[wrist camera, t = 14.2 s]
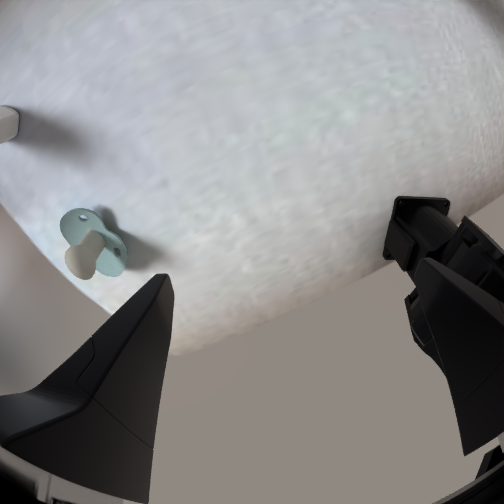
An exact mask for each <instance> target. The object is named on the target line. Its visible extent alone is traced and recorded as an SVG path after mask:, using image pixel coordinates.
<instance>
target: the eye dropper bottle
mask: <svg viewBox="0 0 504 504" xmlns="http://www.w3.org/2000/svg"><path fill="white" fill-rule="evenodd" d="M18 124H19V114H18V113H17V112H16V111H15V110H14V109H12V108H10V107H8V106H0V144H2V143H4V142H6V141H8V140H10V139H12V138H14V137H15V136H16V135H17V133H18Z"/></svg>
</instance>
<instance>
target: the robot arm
mask: <svg viewBox="0 0 504 504" xmlns="http://www.w3.org/2000/svg"><path fill="white" fill-rule="evenodd" d="M400 201H402V202H401V203H400V204H399V202H400ZM445 203H446V204H445ZM449 206H450V201H449V200H448V199H446V198H433V197H411V196H398V197H397V198H396V199H395V201H394V206H393V211H392V216H391V220H390V221H389V226H388V230H387V235H386V239H385V246H384V250H383V257H384V259H385V260H396V261H397V263H398V264H399V266H400V268H401V269H402V270H403V271H406V272H407V273H408V275H409V276H410V278H411V279H412V281H413V282H414V284H415V286H416V288H415V289H414V290H413V291H412V293H411V294H410V295H408V296H407V297H406V298H405V305H406V309H407V313H408V318H409V322H410V327H411V332H412V335H413V338H414V341H415V342H416V343H417V344H418V346H419V347H420V348H421V349H422V350H423V351H424V352H425V353H426V354H427V355H429V356H430V357H431V358H432V359H433V360H434V361H435V362H436V364H437V365H438V366H439V367H440V368H441V370H442V372H443V373H444V375H445V376H446V378H447V381H448V385H449V388H450V392H451V396H452V400H453V404H454V408H455V413H456V417H457V422H458V426H459V431H460V437H461V442H462V448H463V453H464V456H466V455H468V454H470V453H471V452H473V451H475V450H476V449H478V448H480V447H481V446H483V445H485V444H486V443H488V442H489V441H491V440H493V439H494V438H496V437H498V440H499V443H500V444H499V445H498V446H496V447H495V448H494V449H492V450H490V451H489V452H487V453H486V454H485V455H484V458H483V461H482V463H481V466H480V468H479V471H478V473H477V476H476V478H475V480H474V481H473V482H471V483H469V484H468V485H466V486H464V487H463V488H461V489H459V490H458V491H456V492H454V493H452V494H450V495H449V496H446V497H445V498H443V499H441V500H439V501H437V502H435V503H432V504H504V250H503V249H502V248H501V247H500V246H499V245H498V244H497V243H496V242H495V241H494V240H493V239H492V238H491V237H490V236H489V235H488V234H486V233H485V232H484V231H483V230H482V229H481V228H479V227H478V226H477V225H476V224H475V223H473V222H472V221H471V220H470V219H468V218H467V217H466V216H465V215H464V217H463V219H462V220H461V221H462V223H461V224H460V226H459V227H457V226H456V225H455V224H454V223H453V222H452V221H451V220H450V219H449V218H448V217H447V214H448V210H449ZM387 254H389V255H387ZM173 308H174V291H173V287H172V284H171V280H170V277H169V275H168V274H166V273H164V274H156V275H154V276H153V277H152V278H151V279H150V280H149V281H148V282H147V283H146V284H145V285H144V286H143V287H142V288H140V289H139V290H138V291H137V292H136V293H135V294H134V295H133V296H132V297H131V298H130V299H129V300H128V301H127V302H126V303H125V304H124V305H123V306H121V307H120V308H119V309H118V310H117V311H116V312H115V313H114V314H113V315H112V316H111V317H110V318H109V319H108V320H107V321H106V322H105V323H104V324H103V325H102V326H101V327H100V328H99V329H98V330H97V331H96V332H95V333H94V334H93V335H92V337H90V338H89V339H88V340H87V341H86V342H85V343H84V344H83V345H82V346H81V347H80V348H79V349H78V350H77V351H76V352H75V353H74V354H73V355H72V356H70V357H69V358H68V359H67V360H66V361H65V362H64V363H63V364H62V365H60V366H59V367H58V368H57V369H56V370H55V371H53V372H52V373H51V374H50V375H49V376H48V377H47V378H46V379H44V380H43V381H42V382H41V383H40V384H39V385H38V386H36V387H35V388H33V389H31V390H29V391H26V392H23V393H17V394H10V395H2V396H0V504H123V499H125V500H130V501H134V502H138V503H143V504H148V502H149V490H150V479H151V468H152V458H153V448H154V440H155V432H156V425H157V418H158V411H159V404H160V398H161V391H162V385H163V379H164V373H165V368H166V362H167V356H168V351H169V346H170V340H171V332H172V320H173Z"/></svg>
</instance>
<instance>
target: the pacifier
mask: <svg viewBox="0 0 504 504" xmlns="http://www.w3.org/2000/svg"><path fill="white" fill-rule="evenodd" d="M80 215H85V216H86V217H87V218H88V220H83V219H81V218H80ZM60 229H61V233H62V234H63V236H64V238H65V239H66V240H67V242H68V243H69V245H70V246H71V247H70V248H69V249H68V250H67V251H66V252H65V262H66V265H67V267H68V268H69V270H70V271H71V272H72V273H73V274H74V275H75V276H76V277H78V278H80V279H83V280H88V279H90V278H92V277H93V275H94V273H95V270H97V271H99V272H100V273H102V274H104V275H106V276H111V277H115V276H119V275H120V274H122V273H123V271H124V270H125V267H126V265H127V261H128V255H127V250H126V247H125V245H124V243H123V241H122V240H121V238H120V237H119V236H118V235H116V234H115V233H114V232H112V231H110V230H109V229H108V228H107V227H106V226H105V225H104V222H103V221H102V219H101V218H100V217H99V216H98V215H97V214H96V213H95V212H93V211H91V210H89V209H84V208H77V209H73V210H70V211H69V212H67V213H66V214H65V215H64V216H63V217H62V218H61V221H60ZM114 248H118V249H119V250H120V253H121V255H117V254H116V252H115V250H114Z"/></svg>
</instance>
